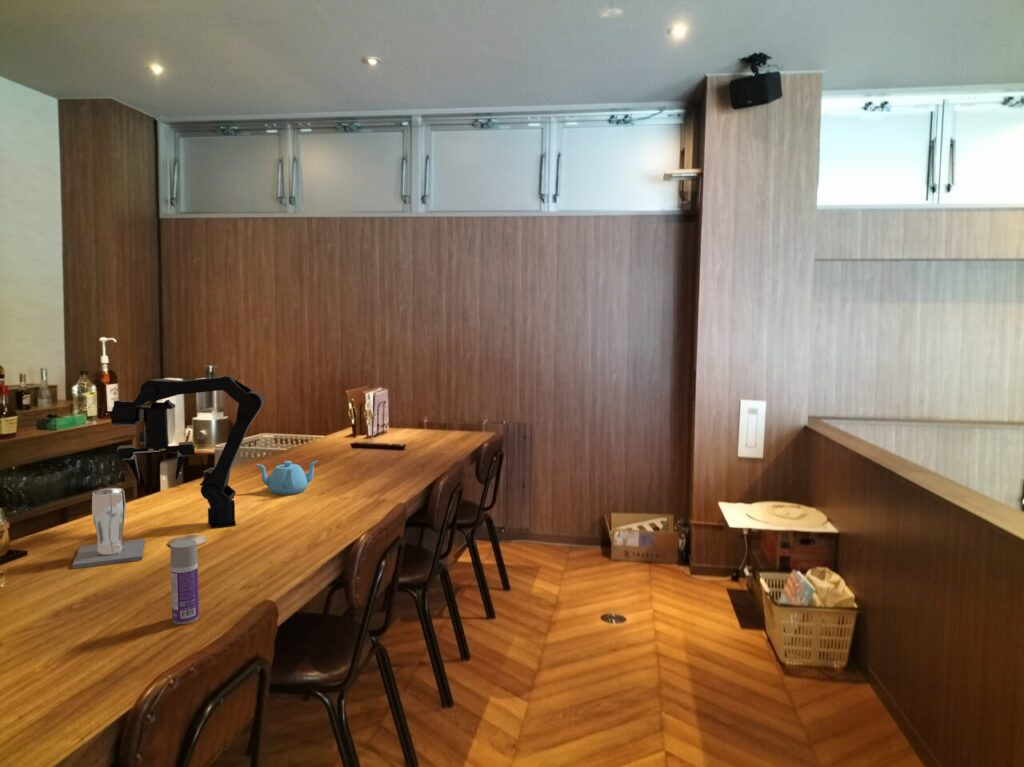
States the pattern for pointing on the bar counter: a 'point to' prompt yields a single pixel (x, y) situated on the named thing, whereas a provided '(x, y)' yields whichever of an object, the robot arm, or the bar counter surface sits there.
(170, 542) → the metal coaster
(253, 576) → the bar counter surface
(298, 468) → the teapot
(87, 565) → the slate board
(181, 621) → the container
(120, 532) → the beer glass
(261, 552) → the bar counter surface
